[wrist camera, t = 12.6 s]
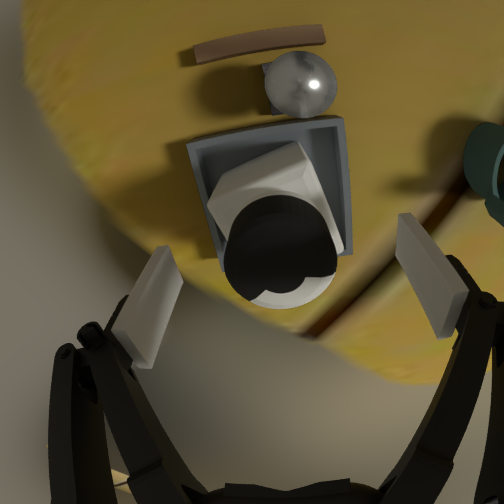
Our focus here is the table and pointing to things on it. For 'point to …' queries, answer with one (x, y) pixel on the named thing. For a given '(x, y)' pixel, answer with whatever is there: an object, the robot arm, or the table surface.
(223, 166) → the tray
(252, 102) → the table surface
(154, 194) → the table surface
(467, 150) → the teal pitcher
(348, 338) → the table surface
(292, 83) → the knob
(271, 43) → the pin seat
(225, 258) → the medicine bottle
